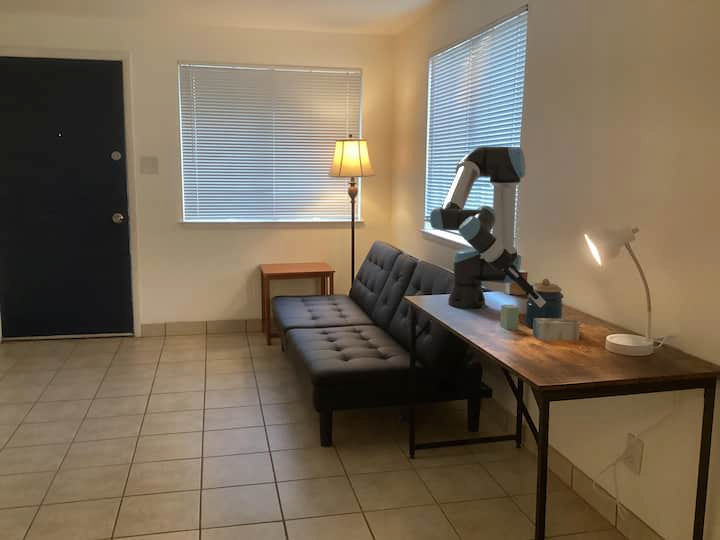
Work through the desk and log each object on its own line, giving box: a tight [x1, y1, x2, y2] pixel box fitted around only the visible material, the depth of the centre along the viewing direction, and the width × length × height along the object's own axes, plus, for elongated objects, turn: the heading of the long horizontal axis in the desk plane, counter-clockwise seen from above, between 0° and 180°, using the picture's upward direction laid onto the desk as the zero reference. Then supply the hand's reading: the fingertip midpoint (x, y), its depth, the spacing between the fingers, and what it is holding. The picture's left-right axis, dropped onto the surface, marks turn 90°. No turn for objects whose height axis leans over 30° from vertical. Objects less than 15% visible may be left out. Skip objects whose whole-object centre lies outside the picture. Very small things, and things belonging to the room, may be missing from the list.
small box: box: [505, 269, 529, 296], centre depth 286 cm, size 8×6×10 cm
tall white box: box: [532, 318, 581, 341], centre depth 216 cm, size 6×6×14 cm
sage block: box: [499, 304, 520, 331], centre depth 228 cm, size 4×4×8 cm
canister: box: [524, 278, 565, 329], centre depth 230 cm, size 13×13×18 cm
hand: (542, 304), depth 215 cm, fingers closed
